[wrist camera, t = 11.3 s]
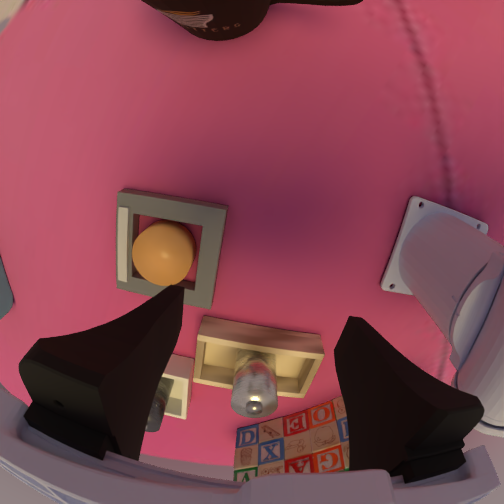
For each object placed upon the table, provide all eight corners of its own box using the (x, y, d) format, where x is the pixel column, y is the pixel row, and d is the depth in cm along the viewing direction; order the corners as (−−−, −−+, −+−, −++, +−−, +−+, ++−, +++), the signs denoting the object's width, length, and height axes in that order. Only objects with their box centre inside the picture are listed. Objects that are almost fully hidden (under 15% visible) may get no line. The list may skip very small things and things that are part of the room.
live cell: (274, 336, 24) (276, 395, 18) (276, 364, 25) (278, 421, 19) (234, 339, 24) (226, 397, 18) (239, 367, 25) (234, 423, 19)
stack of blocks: (260, 447, 33) (257, 525, 22) (236, 427, 31) (228, 515, 19) (414, 392, 28) (446, 472, 17) (408, 364, 26) (449, 455, 15)
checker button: (199, 225, 21) (193, 234, 19) (193, 278, 23) (187, 291, 21) (143, 215, 21) (133, 223, 19) (141, 267, 22) (131, 279, 21)
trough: (320, 334, 24) (324, 354, 22) (301, 378, 27) (303, 398, 24) (203, 315, 24) (197, 334, 22) (198, 362, 26) (193, 381, 24)
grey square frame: (228, 205, 20) (225, 211, 19) (212, 301, 23) (209, 311, 22) (124, 188, 20) (115, 192, 19) (122, 281, 23) (115, 289, 22)
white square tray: (194, 358, 26) (188, 379, 24) (190, 400, 29) (185, 419, 26) (126, 341, 26) (115, 359, 23) (131, 385, 28) (123, 402, 26)
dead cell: (174, 370, 26) (157, 421, 20) (173, 390, 28) (159, 439, 22) (142, 362, 26) (120, 410, 20) (143, 383, 27) (125, 429, 21)
